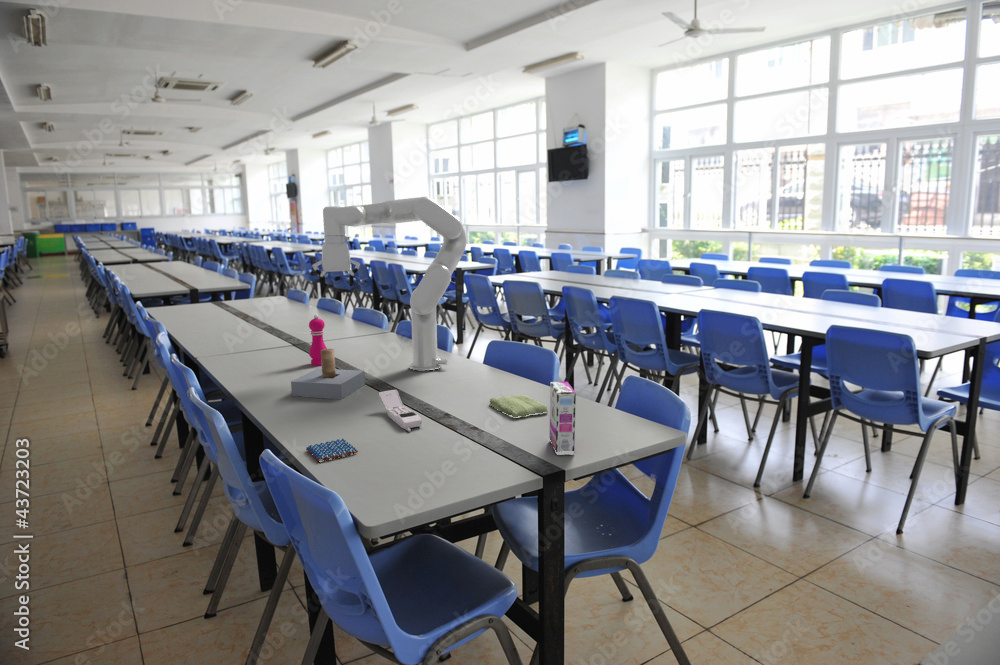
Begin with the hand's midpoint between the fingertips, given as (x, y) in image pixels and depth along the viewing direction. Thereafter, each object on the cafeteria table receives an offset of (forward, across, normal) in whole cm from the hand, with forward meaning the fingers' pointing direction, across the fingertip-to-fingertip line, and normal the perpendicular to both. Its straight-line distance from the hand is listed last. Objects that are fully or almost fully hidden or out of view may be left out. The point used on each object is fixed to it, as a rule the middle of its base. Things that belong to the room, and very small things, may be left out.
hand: (337, 286), depth 245 cm
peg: (+32, +6, +26) cm, 42 cm away
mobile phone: (+33, -13, +65) cm, 74 cm away
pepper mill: (+32, +8, -14) cm, 36 cm away
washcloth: (+33, -48, +67) cm, 89 cm away
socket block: (+32, +6, +26) cm, 42 cm away
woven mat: (+33, +8, +86) cm, 93 cm away
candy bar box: (+32, -48, +102) cm, 117 cm away
